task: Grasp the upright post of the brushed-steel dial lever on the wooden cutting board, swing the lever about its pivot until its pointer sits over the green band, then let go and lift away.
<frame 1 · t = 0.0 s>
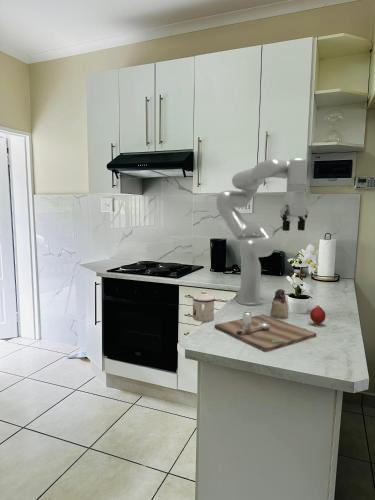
hand: (293, 230, 143), 37 cm above the worktop, tool pointing down, fingers open, 9 cm apart
teacup with lid: (202, 320, 138), on the worktop
onion: (317, 325, 135), on the worktop
wooden cutting board: (263, 332, 125), on the worktop
tan brown ceramic jug: (279, 316, 145), on the worktop
dial lever: (253, 320, 122), point 5 cm above the worktop, hinge at 0.0°
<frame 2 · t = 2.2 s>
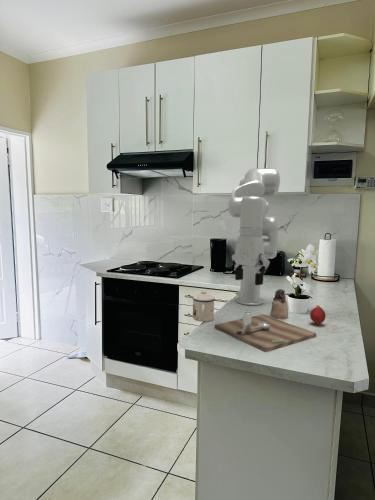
hand: (248, 282, 118), 20 cm above the worktop, tool pointing down, fingers open, 9 cm apart
nothing on the worktop moved.
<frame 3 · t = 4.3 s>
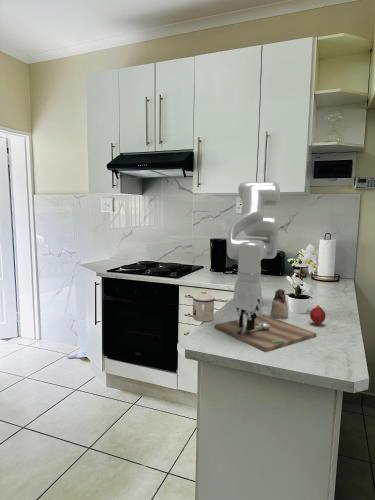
hand: (246, 327, 120), 3 cm above the worktop, tool pointing down, fingers closed on dial lever, 3 cm apart
dial lever: (253, 320, 122), point 5 cm above the worktop, hinge at 0.0°, touching gripper
everything else where it was.
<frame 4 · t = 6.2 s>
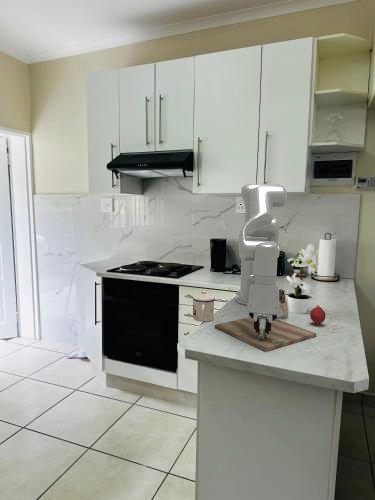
hand: (262, 331, 117), 3 cm above the worktop, tool pointing down, fingers closed on dial lever, 3 cm apart
dial lever: (263, 323, 119), point 5 cm above the worktop, hinge at 38.3°, touching gripper
everything else where it was.
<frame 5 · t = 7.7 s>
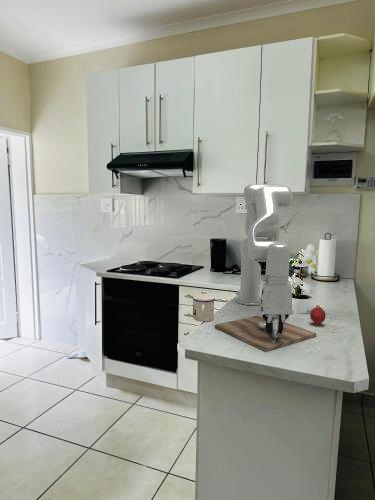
hand: (274, 332, 116), 3 cm above the worktop, tool pointing down, fingers closed on dial lever, 3 cm apart
dial lever: (270, 323, 119), point 5 cm above the worktop, hinge at 64.1°, touching gripper
everything else where it was.
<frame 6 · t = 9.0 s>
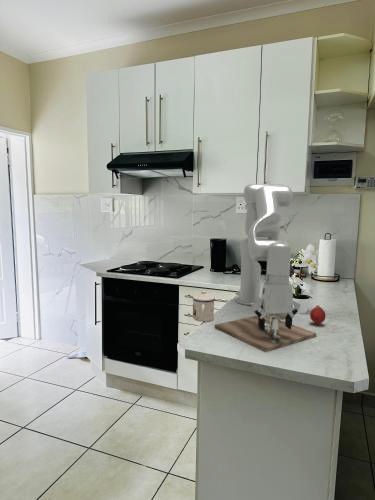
hand: (274, 328, 116), 5 cm above the worktop, tool pointing down, fingers open, 9 cm apart
dial lever: (270, 323, 119), point 5 cm above the worktop, hinge at 64.3°
everything else where it was.
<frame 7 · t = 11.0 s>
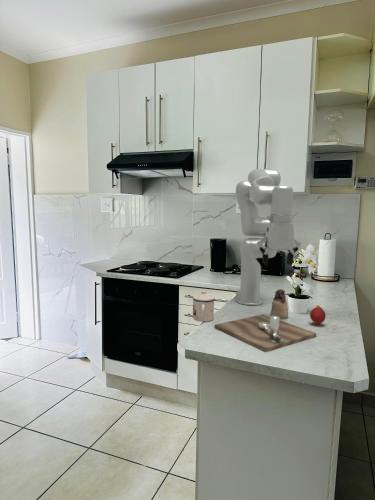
hand: (277, 264, 129), 24 cm above the worktop, tool pointing down, fingers open, 9 cm apart
nothing on the worktop moved.
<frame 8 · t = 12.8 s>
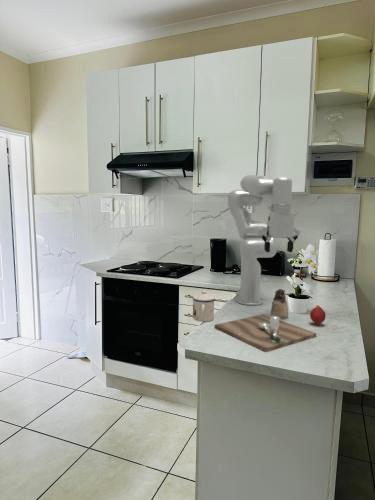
hand: (278, 251, 137), 28 cm above the worktop, tool pointing down, fingers open, 9 cm apart
nothing on the worktop moved.
at the end: dial lever at +64° (first picture: +0°); the gripper is holding nothing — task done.
